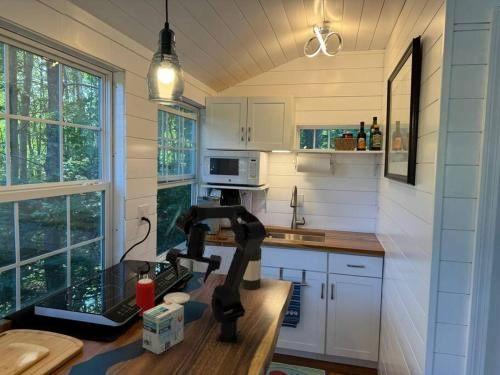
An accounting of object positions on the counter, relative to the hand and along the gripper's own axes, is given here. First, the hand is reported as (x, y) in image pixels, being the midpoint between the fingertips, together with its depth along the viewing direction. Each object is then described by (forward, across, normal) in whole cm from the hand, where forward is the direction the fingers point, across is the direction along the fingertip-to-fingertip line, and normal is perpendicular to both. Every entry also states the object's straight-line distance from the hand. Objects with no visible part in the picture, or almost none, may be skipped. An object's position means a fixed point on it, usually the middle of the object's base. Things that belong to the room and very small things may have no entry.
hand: (191, 280), depth 125 cm
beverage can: (+14, +14, +4) cm, 20 cm away
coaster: (+14, +6, -10) cm, 19 cm away
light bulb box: (+10, +3, +22) cm, 24 cm away
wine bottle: (+13, -22, -27) cm, 37 cm away
